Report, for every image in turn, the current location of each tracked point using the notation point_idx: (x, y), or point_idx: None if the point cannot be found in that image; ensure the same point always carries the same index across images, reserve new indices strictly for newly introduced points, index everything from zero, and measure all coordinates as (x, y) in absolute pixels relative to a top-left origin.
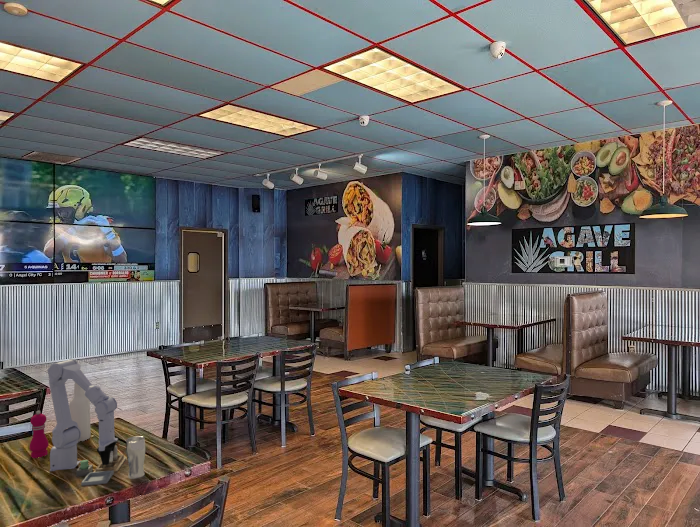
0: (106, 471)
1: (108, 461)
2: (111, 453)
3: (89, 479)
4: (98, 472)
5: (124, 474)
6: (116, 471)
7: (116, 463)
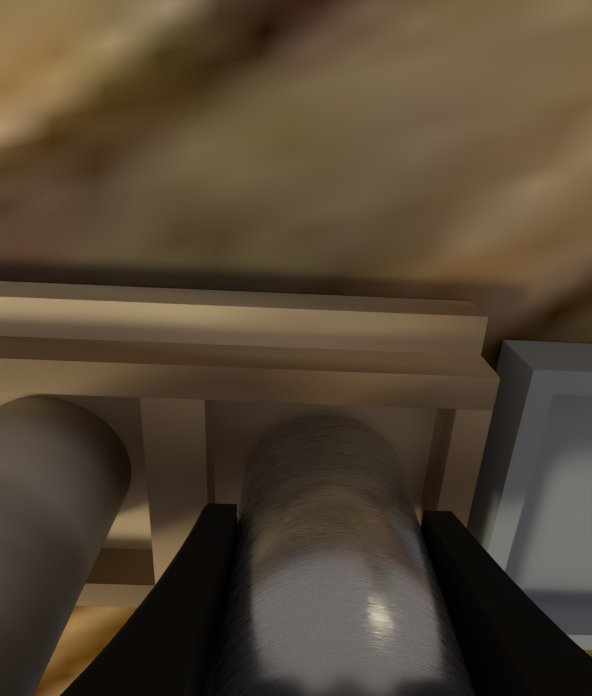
0: (533, 462)
1: (483, 548)
2: (413, 643)
3: (587, 584)
4: (509, 551)
5: (561, 168)
6: (483, 319)
7: (290, 384)
